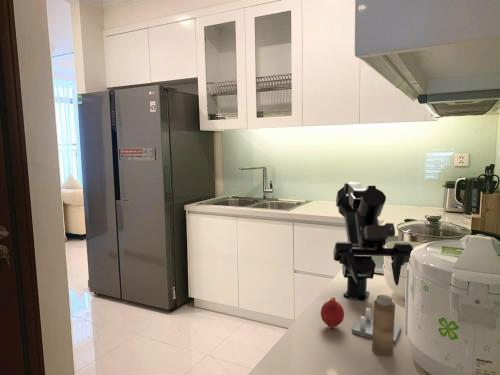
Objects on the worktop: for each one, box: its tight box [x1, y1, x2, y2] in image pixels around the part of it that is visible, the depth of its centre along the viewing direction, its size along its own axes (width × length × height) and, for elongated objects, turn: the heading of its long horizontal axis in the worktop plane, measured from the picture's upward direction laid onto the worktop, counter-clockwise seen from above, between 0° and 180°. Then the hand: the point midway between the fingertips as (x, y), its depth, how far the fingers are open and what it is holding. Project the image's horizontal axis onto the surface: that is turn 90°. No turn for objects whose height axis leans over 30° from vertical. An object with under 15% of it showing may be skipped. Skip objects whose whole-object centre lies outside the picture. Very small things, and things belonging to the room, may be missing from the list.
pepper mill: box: [371, 294, 396, 357], centre depth 80 cm, size 4×4×12 cm
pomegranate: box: [320, 296, 345, 329], centre depth 90 cm, size 6×6×8 cm
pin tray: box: [351, 307, 402, 346], centre depth 88 cm, size 8×10×4 cm
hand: (377, 284), depth 85 cm, fingers open, 9 cm apart
